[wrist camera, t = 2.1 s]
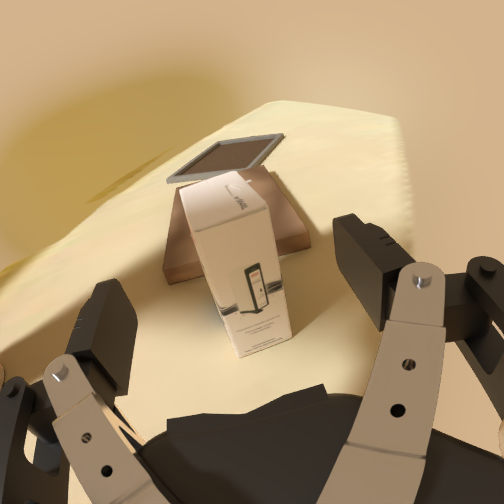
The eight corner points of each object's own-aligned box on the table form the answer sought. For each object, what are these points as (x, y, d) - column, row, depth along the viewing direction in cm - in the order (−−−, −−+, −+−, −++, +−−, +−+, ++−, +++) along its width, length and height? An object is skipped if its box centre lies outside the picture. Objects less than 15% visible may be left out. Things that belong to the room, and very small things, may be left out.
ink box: (213, 298, 31) (174, 186, 25) (261, 280, 32) (233, 167, 25) (237, 361, 24) (188, 230, 18) (296, 338, 25) (271, 202, 18)
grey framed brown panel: (165, 179, 65) (221, 138, 88) (167, 186, 66) (222, 143, 89) (248, 170, 58) (285, 130, 81) (250, 178, 59) (286, 136, 82)
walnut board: (169, 284, 34) (162, 269, 33) (179, 197, 56) (176, 187, 55) (310, 247, 35) (308, 231, 34) (265, 175, 57) (263, 164, 56)
